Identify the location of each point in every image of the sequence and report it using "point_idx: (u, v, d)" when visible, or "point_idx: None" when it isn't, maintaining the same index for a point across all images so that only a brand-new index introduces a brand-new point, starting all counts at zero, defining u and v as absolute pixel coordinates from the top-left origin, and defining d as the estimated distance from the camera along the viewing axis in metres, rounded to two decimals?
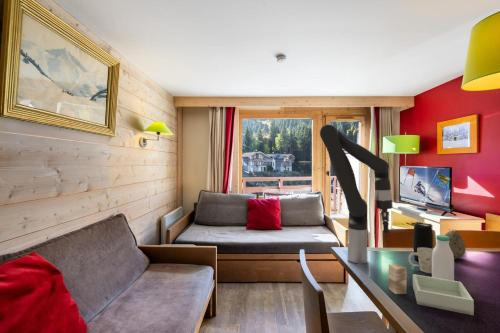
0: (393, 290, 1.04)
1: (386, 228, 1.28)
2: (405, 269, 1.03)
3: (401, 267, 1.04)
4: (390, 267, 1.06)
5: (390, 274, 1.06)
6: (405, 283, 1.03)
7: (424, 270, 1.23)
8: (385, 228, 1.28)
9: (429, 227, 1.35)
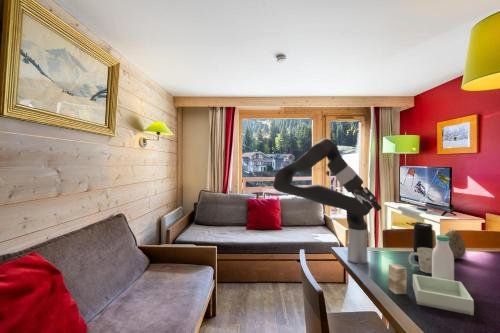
0: (393, 290, 1.04)
1: (376, 204, 1.02)
2: (405, 269, 1.03)
3: (401, 267, 1.04)
4: (390, 267, 1.06)
5: (390, 274, 1.06)
6: (405, 283, 1.03)
7: (424, 270, 1.23)
8: (376, 205, 1.02)
9: (429, 227, 1.35)
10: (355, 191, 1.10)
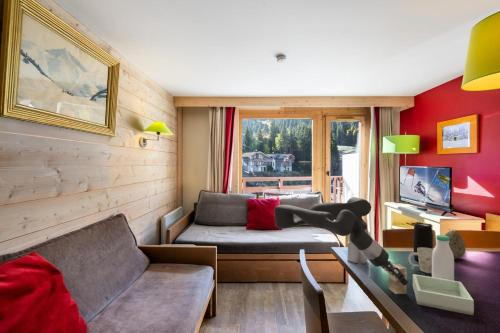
0: (393, 290, 1.04)
1: (404, 280, 1.01)
2: (405, 269, 1.03)
3: (401, 267, 1.04)
4: None
5: (390, 274, 1.06)
6: None
7: (424, 270, 1.23)
8: (403, 281, 1.01)
9: (429, 227, 1.35)
10: None
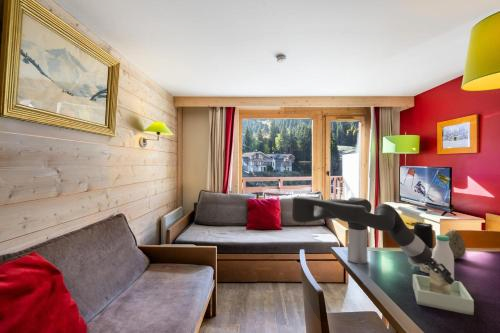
0: None
1: (450, 278, 0.94)
2: None
3: None
4: (432, 271, 0.99)
5: (432, 278, 0.99)
6: (449, 288, 0.96)
7: (424, 270, 1.23)
8: (449, 279, 0.94)
9: (429, 227, 1.35)
10: None
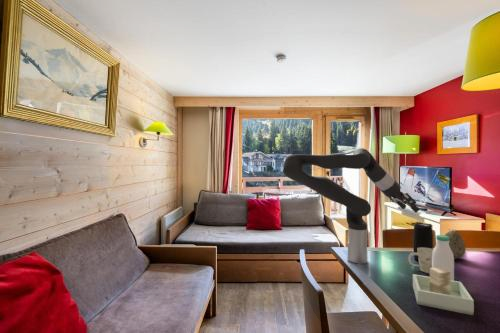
0: None
1: (415, 207, 1.13)
2: (449, 273, 0.96)
3: (444, 271, 0.97)
4: (432, 271, 0.99)
5: (432, 278, 0.99)
6: (449, 288, 0.96)
7: (424, 270, 1.23)
8: (415, 208, 1.13)
9: (429, 227, 1.35)
10: None
